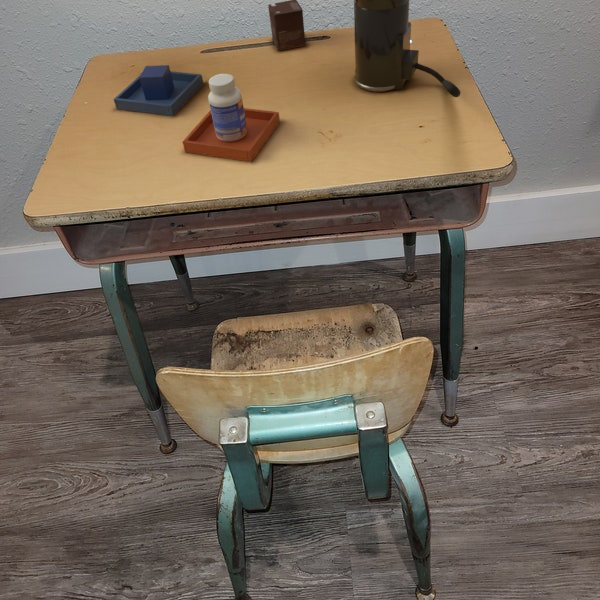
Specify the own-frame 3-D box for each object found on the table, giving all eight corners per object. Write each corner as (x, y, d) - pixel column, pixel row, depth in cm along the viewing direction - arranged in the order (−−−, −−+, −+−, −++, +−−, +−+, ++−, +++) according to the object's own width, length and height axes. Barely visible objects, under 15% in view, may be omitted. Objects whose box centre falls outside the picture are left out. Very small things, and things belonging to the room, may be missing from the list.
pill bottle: (250, 138, 99) (241, 83, 92) (219, 145, 98) (207, 90, 91) (244, 122, 103) (235, 68, 96) (213, 129, 102) (202, 75, 95)
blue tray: (203, 84, 115) (201, 74, 113) (173, 116, 107) (170, 106, 106) (149, 78, 119) (147, 68, 117) (116, 109, 111) (113, 99, 110)
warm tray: (280, 122, 103) (278, 112, 101) (251, 161, 95) (249, 151, 94) (217, 114, 106) (215, 104, 105) (185, 152, 99) (182, 141, 97)
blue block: (174, 87, 114) (168, 64, 111) (168, 99, 111) (162, 76, 108) (152, 88, 114) (145, 65, 111) (145, 100, 111) (138, 77, 108)
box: (306, 46, 123) (303, 9, 117) (277, 51, 122) (273, 14, 117) (299, 34, 127) (296, -2, 121) (271, 39, 126) (267, 3, 121)
